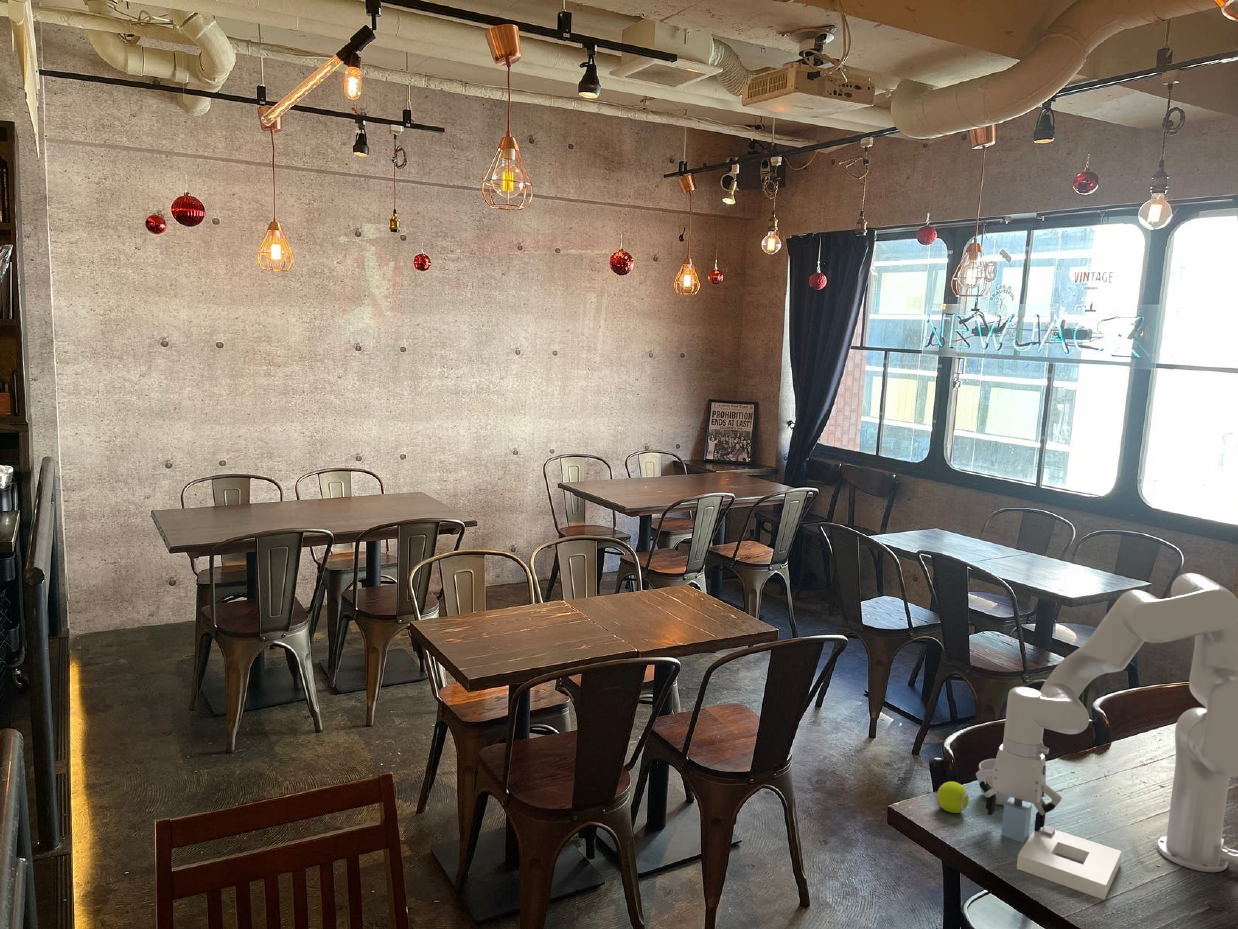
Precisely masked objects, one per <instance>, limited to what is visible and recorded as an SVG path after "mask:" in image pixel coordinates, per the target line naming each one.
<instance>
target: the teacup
mask: <svg viewBox="0 0 1238 929" xmlns="http://www.w3.org/2000/svg"><path fill="white" fill-rule="evenodd" d="M995 761H996V758H988V759H984V760H981V762H979V764H978V771H981V770H987V769H994V765H995ZM985 780H986V781H987V783H988V784H989V785H990V787H992V776H989V777H985ZM979 789H980V792H981V794H983V796H984V797H986V796H985V792H984V791H983V790H982V788H981V787H980V786H979ZM995 794H996V803H995V805H998V806H1003V807H1004V804H1005V803H1006V802H1007V800H1008V799H1009V798H1010V796H1007V795H1004V794H1001V793H999V792H996V793H995ZM1012 798H1013V797H1012Z"/></svg>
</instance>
